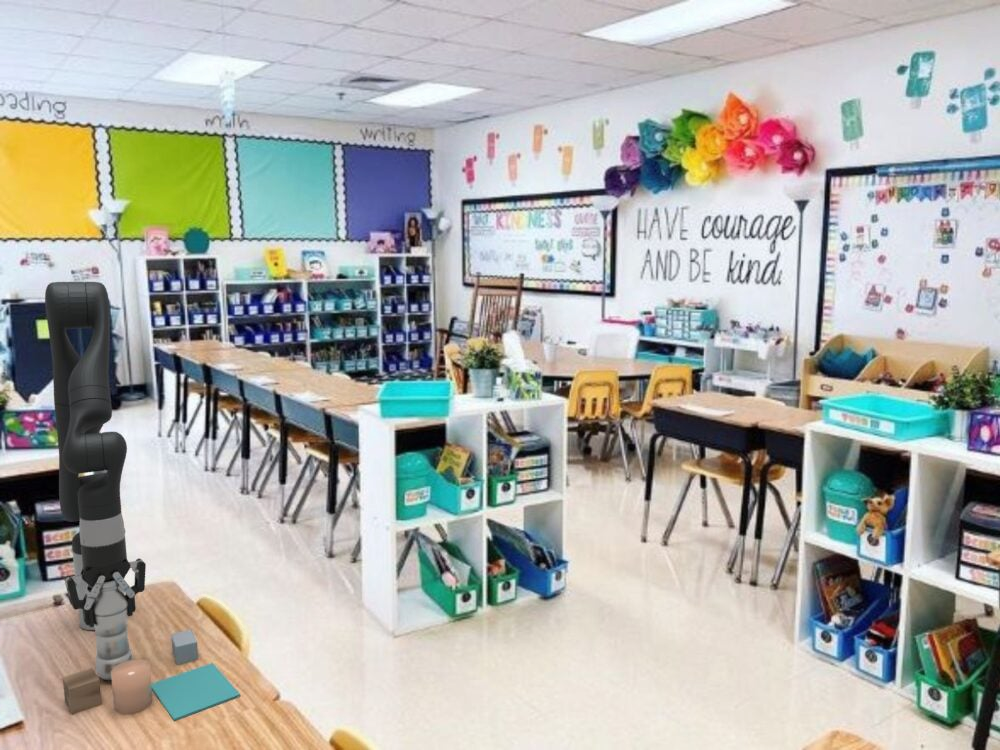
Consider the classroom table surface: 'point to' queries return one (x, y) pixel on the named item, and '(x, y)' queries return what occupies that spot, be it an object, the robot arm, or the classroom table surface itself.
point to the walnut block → (82, 691)
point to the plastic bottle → (110, 629)
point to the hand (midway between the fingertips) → (110, 619)
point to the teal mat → (194, 691)
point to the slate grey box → (184, 646)
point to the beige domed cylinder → (131, 686)
